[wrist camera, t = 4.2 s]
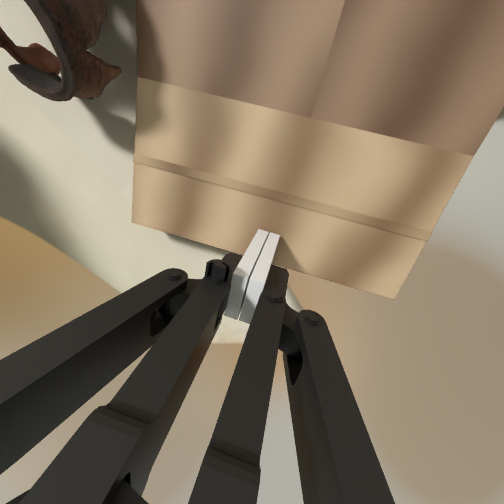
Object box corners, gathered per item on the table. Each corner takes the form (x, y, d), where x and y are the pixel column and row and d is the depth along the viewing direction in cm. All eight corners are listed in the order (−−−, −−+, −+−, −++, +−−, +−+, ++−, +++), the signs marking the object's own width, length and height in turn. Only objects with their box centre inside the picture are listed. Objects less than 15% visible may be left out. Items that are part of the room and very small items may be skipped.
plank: (143, 217, 21) (131, 222, 19) (151, 83, 17) (136, 76, 16) (387, 289, 19) (394, 300, 18) (456, 156, 15) (474, 156, 14)
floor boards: (151, 81, 17) (137, 76, 16) (152, -93, 13) (134, -119, 12) (458, 154, 15) (473, 156, 14) (561, -23, 11) (596, -45, 10)
